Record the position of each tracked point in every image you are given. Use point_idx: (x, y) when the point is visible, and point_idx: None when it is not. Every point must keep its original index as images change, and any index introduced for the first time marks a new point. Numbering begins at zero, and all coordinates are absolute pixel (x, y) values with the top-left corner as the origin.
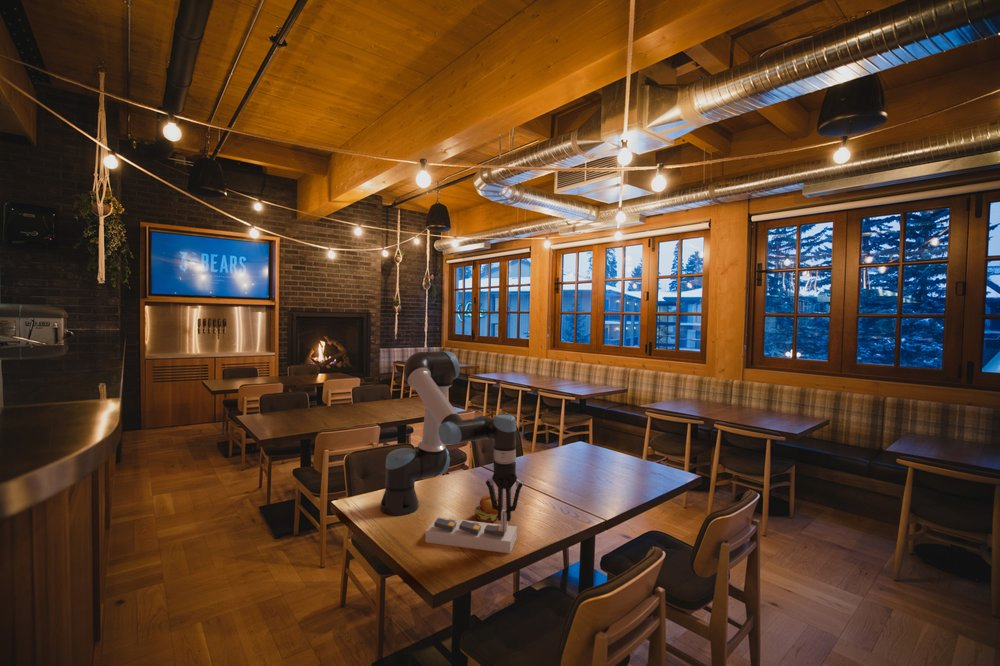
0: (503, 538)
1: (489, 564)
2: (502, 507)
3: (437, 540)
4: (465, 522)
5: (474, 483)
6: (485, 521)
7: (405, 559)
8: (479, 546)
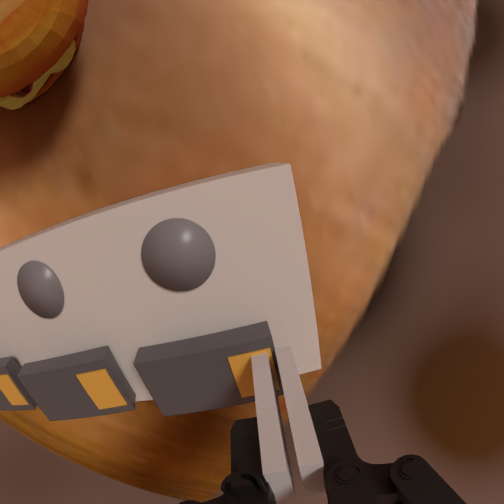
0: None
1: None
2: (270, 501)
3: None
4: (37, 385)
5: None
6: (39, 95)
7: (59, 448)
8: None
